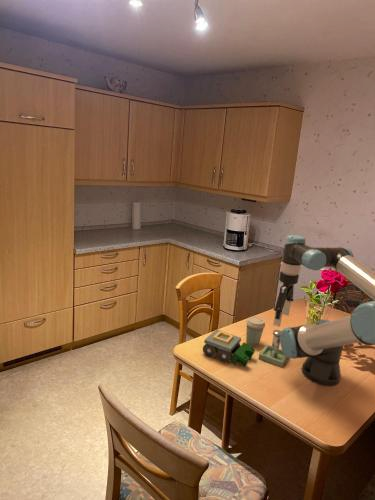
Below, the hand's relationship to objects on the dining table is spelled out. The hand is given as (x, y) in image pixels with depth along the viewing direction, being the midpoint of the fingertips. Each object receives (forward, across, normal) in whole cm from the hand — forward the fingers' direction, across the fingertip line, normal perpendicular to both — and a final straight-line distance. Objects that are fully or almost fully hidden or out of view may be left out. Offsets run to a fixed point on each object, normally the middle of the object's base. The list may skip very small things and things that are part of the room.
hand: (281, 319), depth 158 cm
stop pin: (+18, 0, 0) cm, 18 cm away
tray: (+19, 0, 0) cm, 19 cm away
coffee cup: (+19, -6, -12) cm, 23 cm away
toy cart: (+19, +12, -20) cm, 30 cm away
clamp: (+19, +11, -11) cm, 24 cm away
